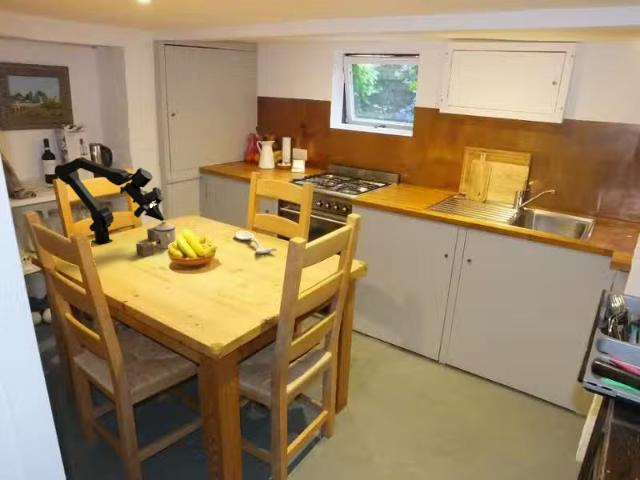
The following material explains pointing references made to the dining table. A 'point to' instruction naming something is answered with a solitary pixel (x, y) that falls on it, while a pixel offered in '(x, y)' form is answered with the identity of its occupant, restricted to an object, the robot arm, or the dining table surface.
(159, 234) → the teacup with lid
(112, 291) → the dining table surface
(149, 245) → the walnut block two dots
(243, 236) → the spoon
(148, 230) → the walnut block three dots
